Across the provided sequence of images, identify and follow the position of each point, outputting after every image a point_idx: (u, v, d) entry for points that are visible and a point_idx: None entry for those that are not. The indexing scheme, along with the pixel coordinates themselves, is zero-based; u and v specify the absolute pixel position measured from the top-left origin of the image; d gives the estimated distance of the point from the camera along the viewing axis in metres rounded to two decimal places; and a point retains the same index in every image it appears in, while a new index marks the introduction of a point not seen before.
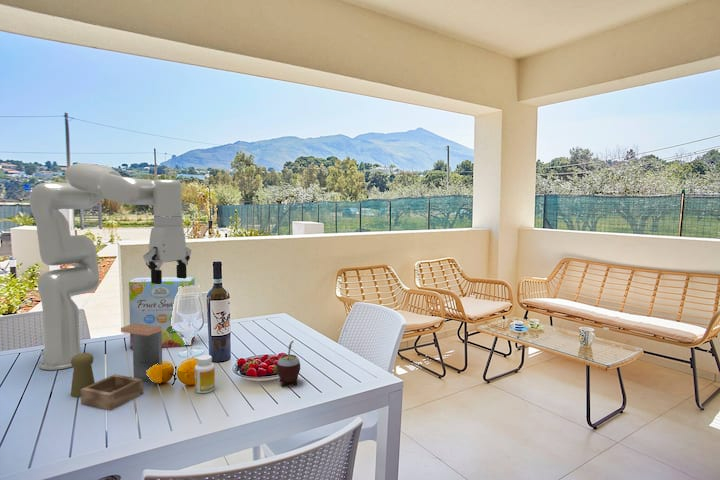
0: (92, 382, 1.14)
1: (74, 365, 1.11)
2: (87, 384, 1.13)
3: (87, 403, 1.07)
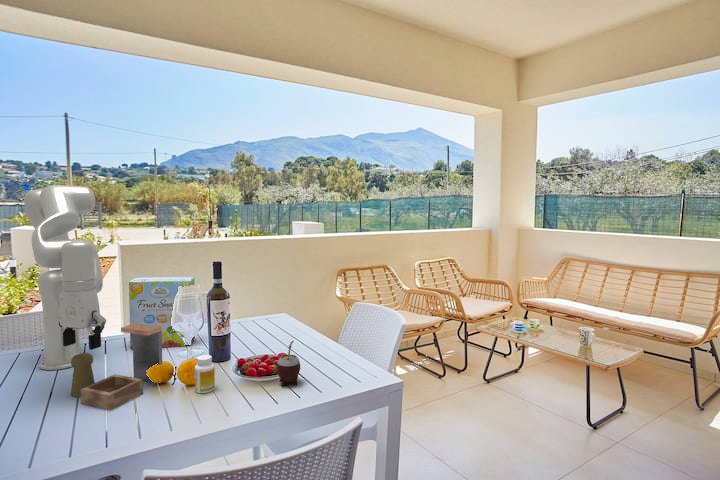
0: (92, 382, 1.14)
1: (74, 365, 1.11)
2: (87, 384, 1.13)
3: (87, 403, 1.07)
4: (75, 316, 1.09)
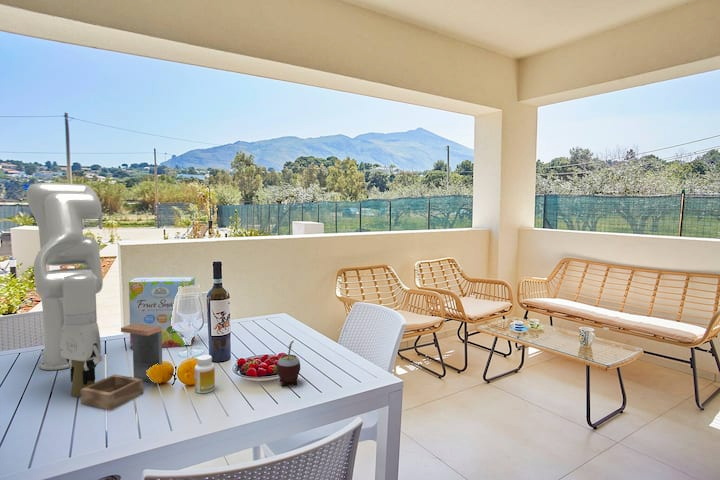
0: (92, 382, 1.14)
1: (74, 365, 1.11)
2: (87, 384, 1.13)
3: (87, 403, 1.07)
4: (76, 349, 1.10)
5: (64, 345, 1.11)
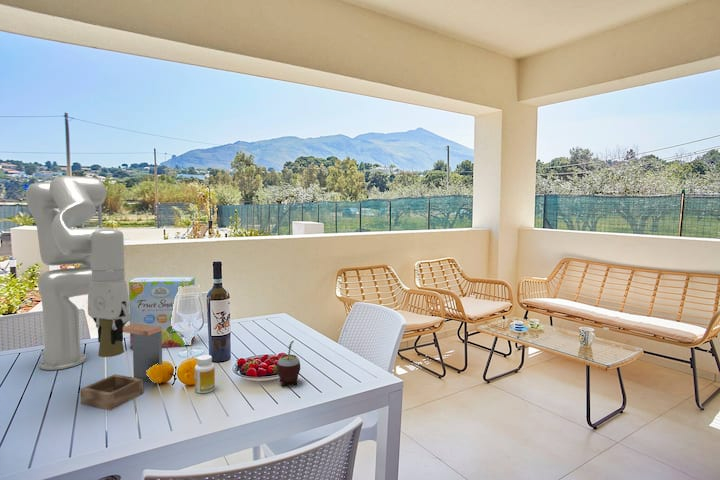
0: (120, 342, 1.10)
1: (102, 324, 1.07)
2: (115, 344, 1.08)
3: (87, 403, 1.07)
4: (104, 306, 1.06)
5: (92, 303, 1.07)
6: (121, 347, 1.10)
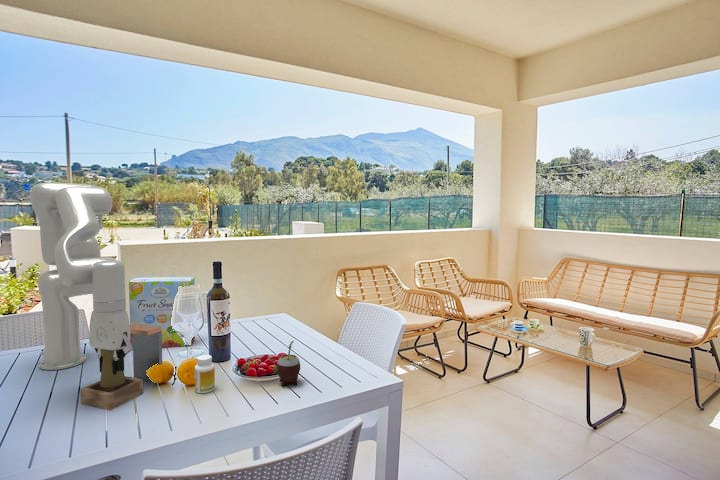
0: (122, 372, 1.10)
1: (104, 354, 1.07)
2: (117, 374, 1.09)
3: (87, 403, 1.07)
4: (106, 337, 1.06)
5: (93, 334, 1.08)
6: (122, 377, 1.10)
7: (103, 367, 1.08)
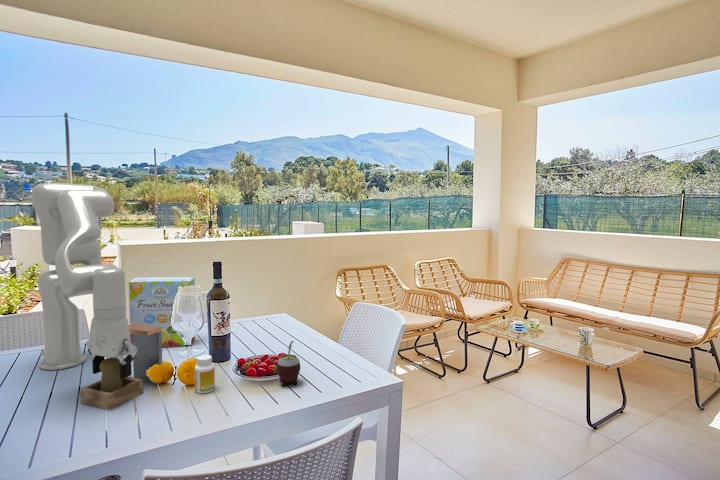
0: (121, 387, 1.11)
1: (103, 370, 1.08)
2: (116, 389, 1.10)
3: (87, 403, 1.07)
4: (106, 345, 1.06)
5: (93, 341, 1.08)
6: None
7: (102, 383, 1.09)
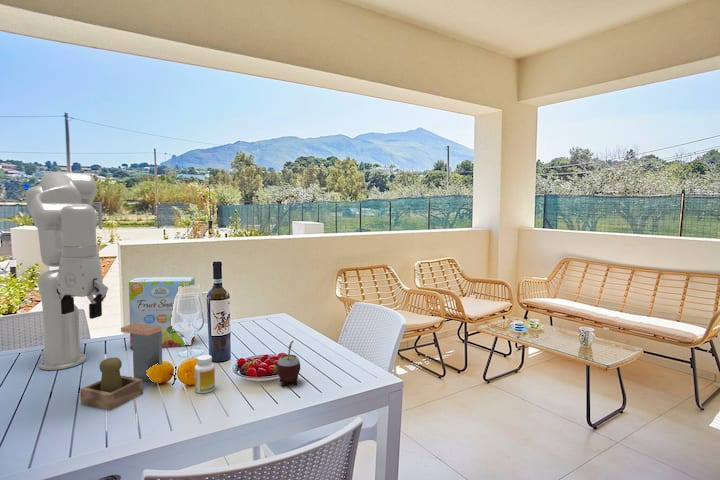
0: (121, 387, 1.11)
1: (103, 370, 1.08)
2: (116, 389, 1.10)
3: (87, 403, 1.07)
4: (75, 283, 1.04)
5: (62, 280, 1.05)
6: None
7: (102, 383, 1.09)
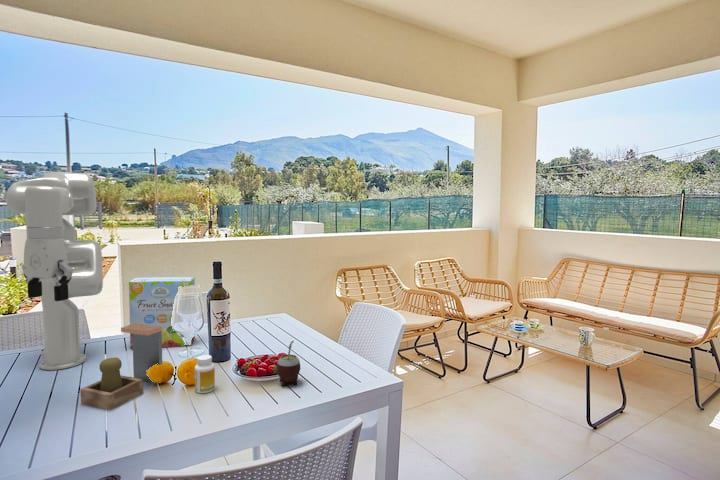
0: (121, 387, 1.11)
1: (103, 370, 1.08)
2: (116, 389, 1.10)
3: (87, 403, 1.07)
4: (40, 265, 1.02)
5: (27, 262, 1.04)
6: None
7: (102, 383, 1.09)
